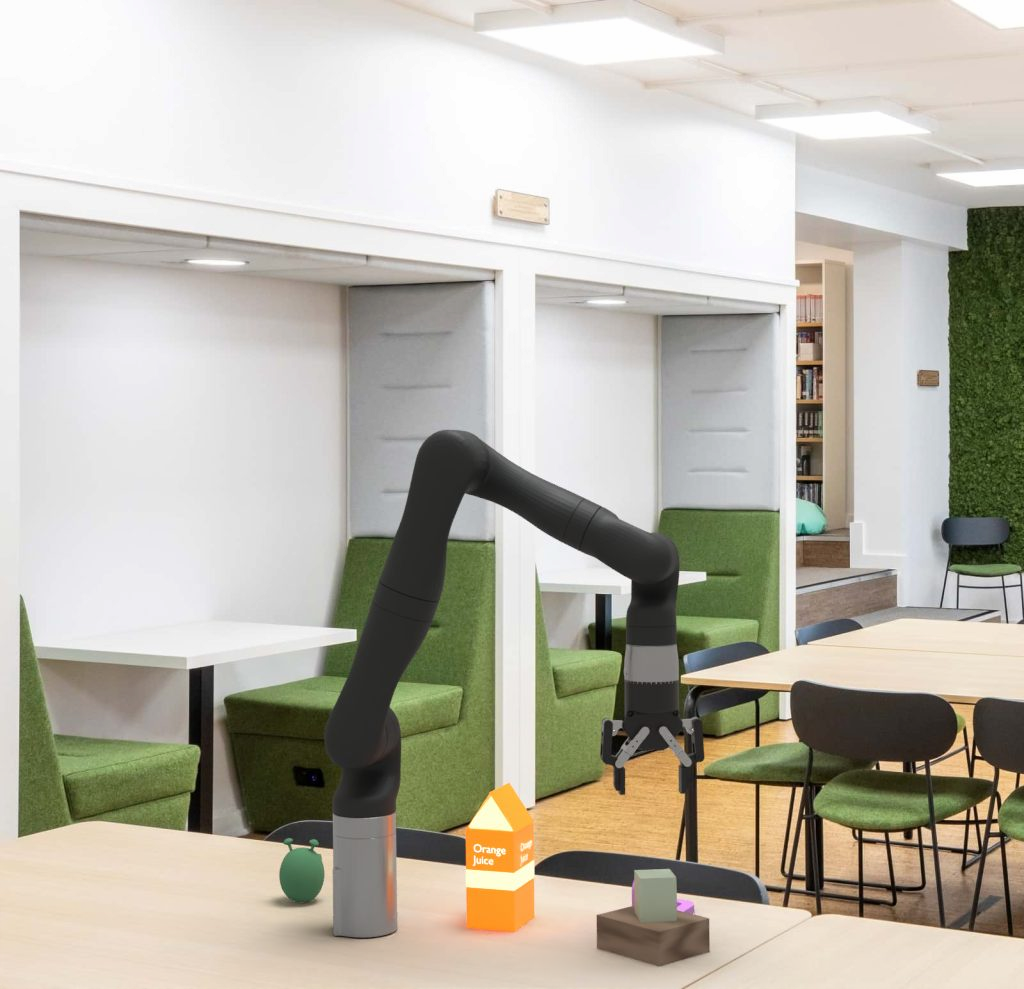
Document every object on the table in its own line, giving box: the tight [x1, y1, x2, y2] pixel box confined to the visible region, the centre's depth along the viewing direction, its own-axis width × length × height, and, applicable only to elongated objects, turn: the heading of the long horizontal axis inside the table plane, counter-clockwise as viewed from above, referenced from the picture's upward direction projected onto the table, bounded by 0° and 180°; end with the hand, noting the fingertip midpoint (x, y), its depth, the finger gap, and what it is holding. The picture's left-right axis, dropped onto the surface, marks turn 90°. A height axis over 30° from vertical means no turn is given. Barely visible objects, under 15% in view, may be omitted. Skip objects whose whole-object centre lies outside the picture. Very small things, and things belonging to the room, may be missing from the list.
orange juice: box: [465, 782, 535, 933], centre depth 240 cm, size 8×9×20 cm
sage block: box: [633, 868, 678, 922], centre depth 225 cm, size 5×5×6 cm
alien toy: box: [278, 837, 325, 903], centre depth 254 cm, size 7×8×10 cm
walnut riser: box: [596, 905, 711, 967], centre depth 225 cm, size 10×12×5 cm
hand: (652, 793), depth 225 cm, fingers open, 8 cm apart
